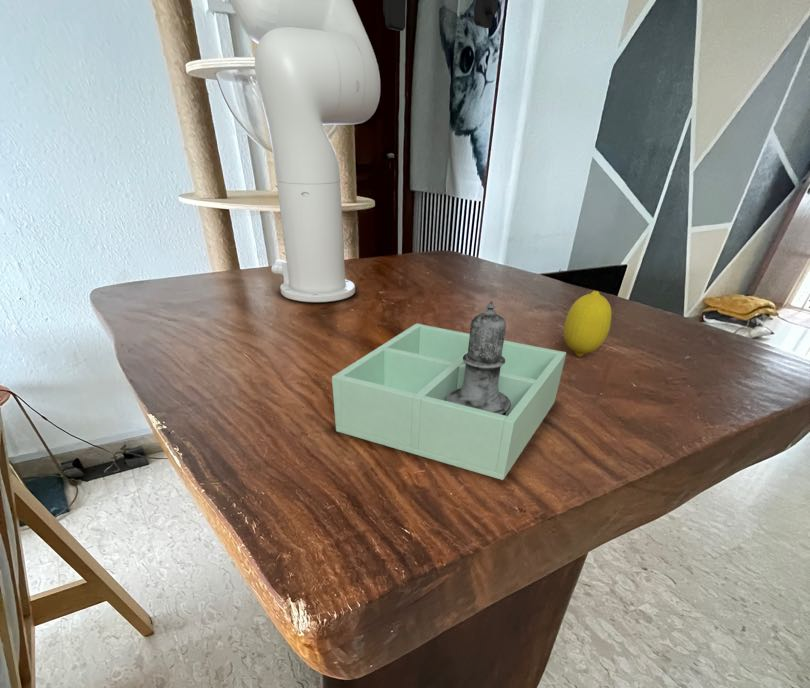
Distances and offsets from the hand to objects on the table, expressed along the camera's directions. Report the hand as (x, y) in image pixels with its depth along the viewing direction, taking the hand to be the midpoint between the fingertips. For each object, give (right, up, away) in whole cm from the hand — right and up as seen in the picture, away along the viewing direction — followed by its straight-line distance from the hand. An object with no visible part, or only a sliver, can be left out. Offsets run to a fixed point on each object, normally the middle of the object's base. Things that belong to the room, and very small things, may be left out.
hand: (437, 27), depth 49 cm
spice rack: (+2, -38, +2) cm, 39 cm away
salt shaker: (+3, -42, -2) cm, 42 cm away
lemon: (+20, -27, +16) cm, 37 cm away
